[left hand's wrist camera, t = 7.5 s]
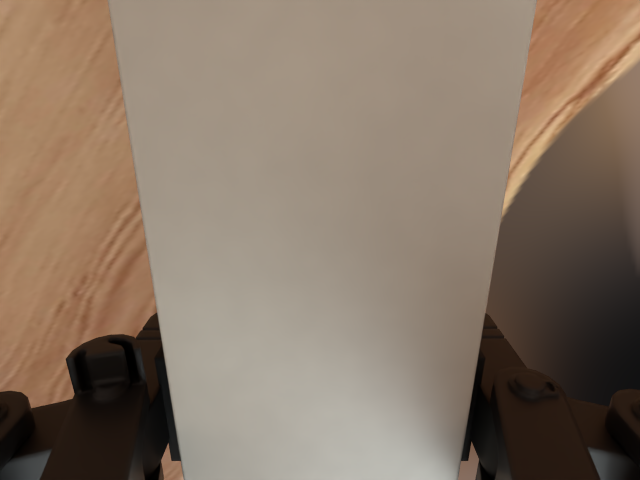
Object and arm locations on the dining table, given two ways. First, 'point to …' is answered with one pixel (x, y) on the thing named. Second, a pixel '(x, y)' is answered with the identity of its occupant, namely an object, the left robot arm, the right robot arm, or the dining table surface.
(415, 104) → the bar
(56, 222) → the dining table surface
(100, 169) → the dining table surface
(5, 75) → the dining table surface
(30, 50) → the dining table surface
